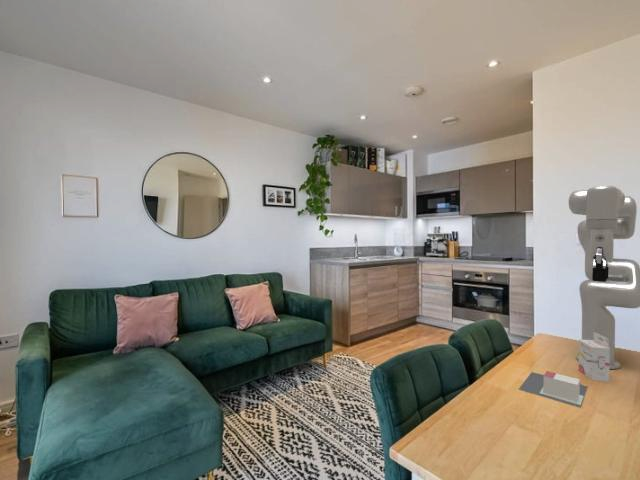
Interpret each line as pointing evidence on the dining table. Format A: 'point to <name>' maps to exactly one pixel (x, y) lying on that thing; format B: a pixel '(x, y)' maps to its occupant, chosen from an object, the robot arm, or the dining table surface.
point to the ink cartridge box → (595, 358)
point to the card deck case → (561, 386)
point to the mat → (535, 386)
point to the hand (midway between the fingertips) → (600, 279)
